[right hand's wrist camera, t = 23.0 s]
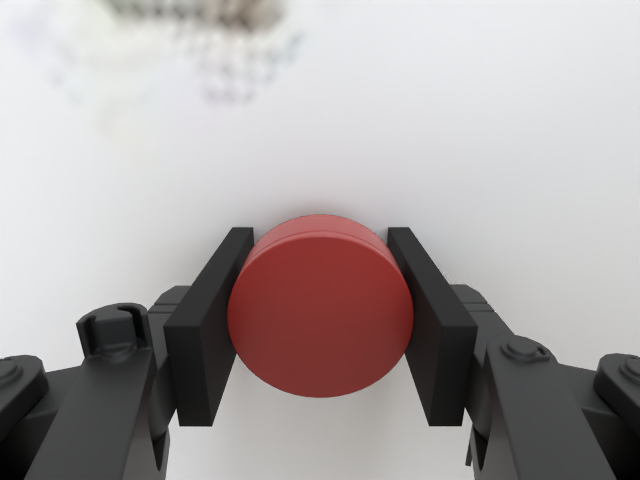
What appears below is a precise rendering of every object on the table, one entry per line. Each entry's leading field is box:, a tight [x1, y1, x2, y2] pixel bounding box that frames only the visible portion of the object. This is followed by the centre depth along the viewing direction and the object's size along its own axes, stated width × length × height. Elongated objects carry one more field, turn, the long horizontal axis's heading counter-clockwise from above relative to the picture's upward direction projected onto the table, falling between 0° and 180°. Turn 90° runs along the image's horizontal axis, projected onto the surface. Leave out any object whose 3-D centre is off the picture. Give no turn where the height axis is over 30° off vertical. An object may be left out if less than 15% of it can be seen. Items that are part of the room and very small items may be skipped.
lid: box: [227, 215, 414, 398], centre depth 11 cm, size 5×5×2 cm
